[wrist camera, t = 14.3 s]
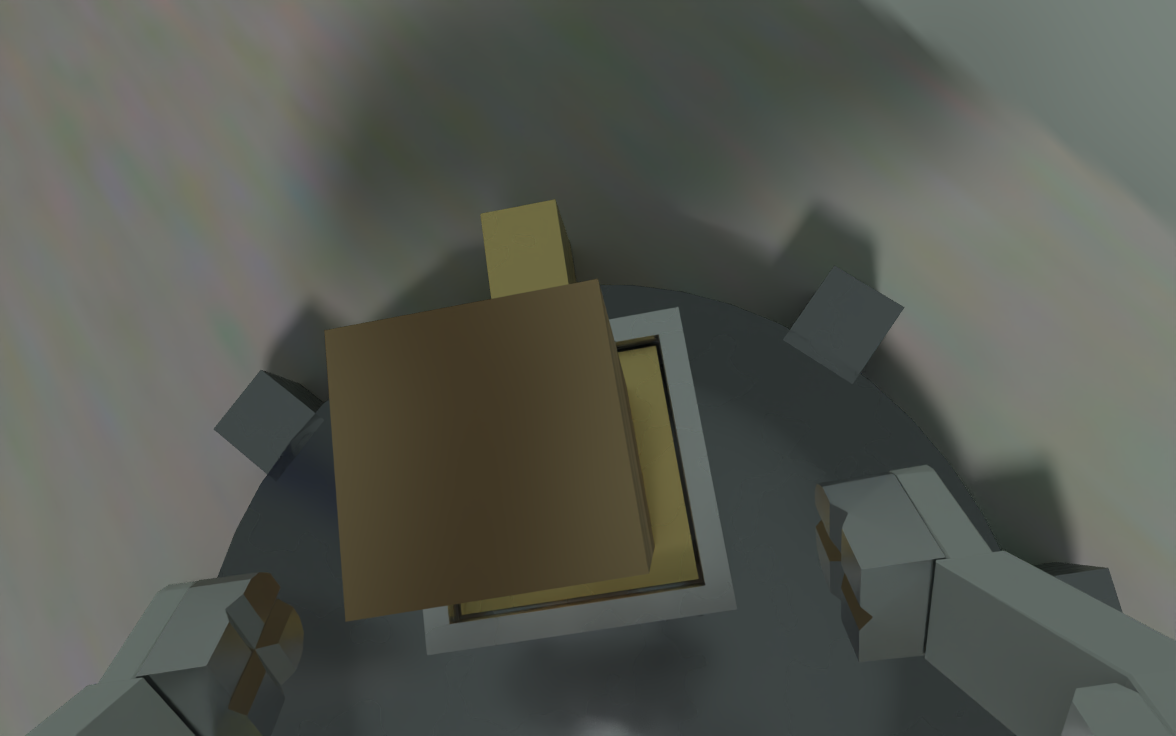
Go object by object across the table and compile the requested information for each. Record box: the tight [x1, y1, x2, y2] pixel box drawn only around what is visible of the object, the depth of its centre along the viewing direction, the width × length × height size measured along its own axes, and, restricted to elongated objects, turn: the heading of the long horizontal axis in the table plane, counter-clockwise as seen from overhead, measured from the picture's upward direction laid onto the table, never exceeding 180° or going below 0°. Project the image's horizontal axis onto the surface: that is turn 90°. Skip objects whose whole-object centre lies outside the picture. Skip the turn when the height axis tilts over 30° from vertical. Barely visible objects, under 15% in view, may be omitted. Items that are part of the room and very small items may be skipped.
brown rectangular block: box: [324, 279, 655, 622], centre depth 13 cm, size 4×4×8 cm
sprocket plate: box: [214, 199, 1122, 736], centre depth 16 cm, size 24×24×3 cm
